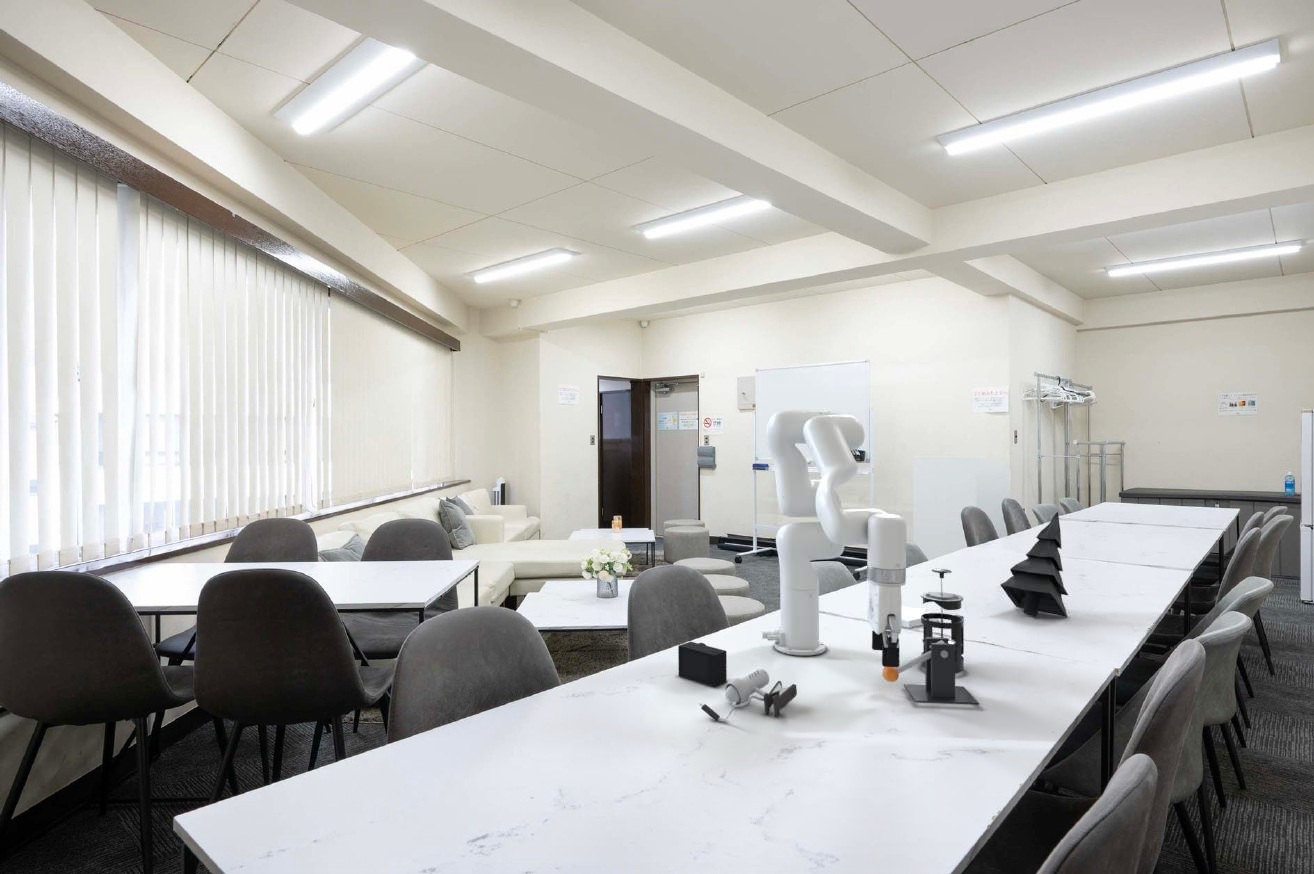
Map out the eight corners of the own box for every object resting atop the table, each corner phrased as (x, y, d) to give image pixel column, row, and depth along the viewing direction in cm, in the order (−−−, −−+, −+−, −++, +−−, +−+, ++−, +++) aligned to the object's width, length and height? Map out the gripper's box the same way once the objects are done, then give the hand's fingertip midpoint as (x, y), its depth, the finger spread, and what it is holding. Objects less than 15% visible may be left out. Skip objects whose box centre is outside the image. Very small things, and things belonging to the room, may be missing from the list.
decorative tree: (1065, 629, 199) (1091, 526, 211) (1047, 606, 191) (1076, 501, 204) (1013, 619, 210) (1040, 522, 223) (994, 597, 203) (1024, 497, 215)
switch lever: (889, 687, 138) (881, 672, 138) (885, 681, 141) (877, 667, 141) (952, 656, 136) (944, 642, 136) (947, 651, 139) (939, 637, 140)
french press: (943, 681, 148) (943, 575, 148) (909, 668, 156) (908, 568, 157) (978, 671, 154) (978, 570, 154) (943, 660, 162) (942, 563, 162)
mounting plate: (905, 610, 209) (905, 604, 209) (943, 619, 198) (943, 613, 198) (865, 619, 199) (865, 612, 199) (903, 629, 188) (903, 622, 188)
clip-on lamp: (735, 747, 123) (802, 703, 133) (731, 716, 122) (799, 674, 132) (693, 720, 133) (759, 680, 143) (690, 690, 131) (756, 653, 141)
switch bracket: (915, 706, 134) (915, 646, 134) (903, 689, 143) (903, 633, 143) (979, 709, 133) (978, 648, 133) (963, 692, 142) (963, 635, 142)
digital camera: (730, 681, 149) (730, 649, 149) (715, 687, 145) (715, 655, 145) (694, 670, 156) (694, 639, 156) (678, 676, 152) (678, 645, 152)
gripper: (859, 565, 148) (858, 643, 149) (876, 584, 131) (874, 672, 132) (895, 566, 148) (894, 644, 148) (916, 585, 130) (915, 674, 131)
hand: (885, 657), depth 140 cm, fingers open, 9 cm apart
